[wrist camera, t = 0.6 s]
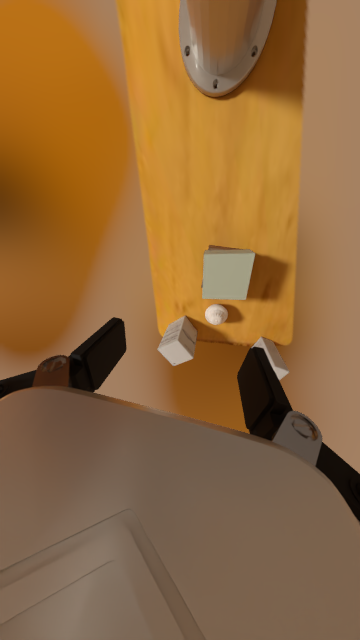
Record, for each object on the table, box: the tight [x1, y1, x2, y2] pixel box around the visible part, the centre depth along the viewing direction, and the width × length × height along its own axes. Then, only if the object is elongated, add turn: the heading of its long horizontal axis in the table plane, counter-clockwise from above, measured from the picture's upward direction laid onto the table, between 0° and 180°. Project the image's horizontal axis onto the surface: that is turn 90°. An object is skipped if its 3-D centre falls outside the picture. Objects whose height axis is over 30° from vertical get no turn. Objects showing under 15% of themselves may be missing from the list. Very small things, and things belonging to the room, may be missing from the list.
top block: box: [202, 249, 255, 300], centre depth 32 cm, size 9×9×5 cm
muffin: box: [205, 304, 228, 325], centre depth 41 cm, size 6×6×7 cm
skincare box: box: [252, 337, 289, 380], centre depth 43 cm, size 6×4×12 cm
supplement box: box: [158, 316, 197, 366], centre depth 45 cm, size 7×7×13 cm
